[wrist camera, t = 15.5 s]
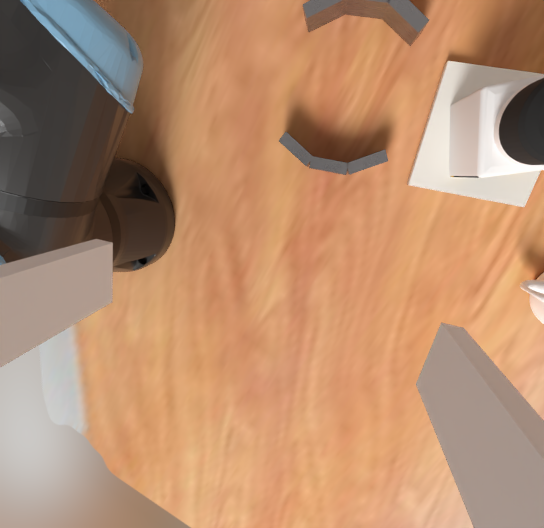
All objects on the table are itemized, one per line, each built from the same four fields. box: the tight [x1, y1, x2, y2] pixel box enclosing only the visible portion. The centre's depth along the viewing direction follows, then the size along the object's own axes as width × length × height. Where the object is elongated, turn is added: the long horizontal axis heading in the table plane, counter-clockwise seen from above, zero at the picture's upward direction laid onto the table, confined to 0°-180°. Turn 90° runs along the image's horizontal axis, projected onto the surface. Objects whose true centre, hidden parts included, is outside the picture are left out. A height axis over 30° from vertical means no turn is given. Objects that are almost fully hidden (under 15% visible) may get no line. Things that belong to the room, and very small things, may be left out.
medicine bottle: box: [449, 75, 544, 178], centre depth 25 cm, size 7×7×12 cm
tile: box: [407, 61, 544, 207], centre depth 31 cm, size 12×12×1 cm
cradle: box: [279, 0, 429, 175], centre depth 31 cm, size 12×16×3 cm
